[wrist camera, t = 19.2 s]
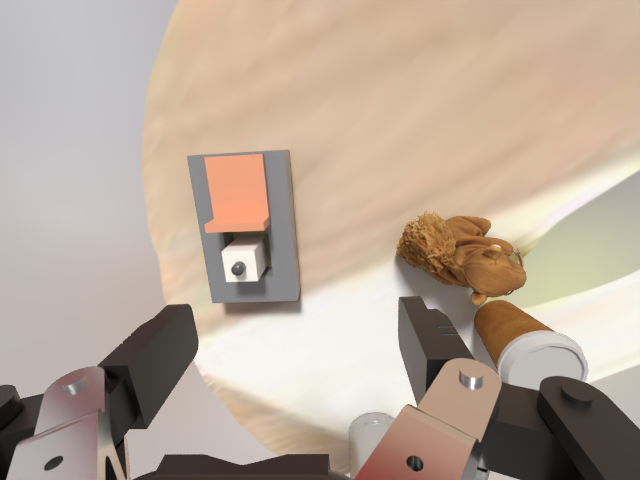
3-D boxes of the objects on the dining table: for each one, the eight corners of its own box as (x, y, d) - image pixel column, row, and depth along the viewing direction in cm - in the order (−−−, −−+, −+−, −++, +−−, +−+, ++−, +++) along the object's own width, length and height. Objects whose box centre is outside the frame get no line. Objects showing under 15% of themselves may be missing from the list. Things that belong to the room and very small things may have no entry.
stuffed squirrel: (471, 287, 45) (523, 341, 33) (378, 261, 45) (395, 306, 32) (501, 223, 42) (570, 256, 30) (402, 194, 42) (431, 216, 29)
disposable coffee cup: (537, 293, 45) (605, 344, 34) (518, 349, 48) (576, 413, 36) (471, 286, 45) (516, 334, 34) (456, 342, 48) (494, 404, 37)
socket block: (300, 288, 47) (297, 300, 43) (222, 290, 47) (212, 303, 44) (289, 149, 41) (284, 150, 37) (200, 154, 42) (186, 155, 38)
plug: (266, 234, 44) (251, 253, 36) (269, 260, 45) (255, 285, 37) (238, 235, 44) (217, 255, 36) (242, 261, 45) (222, 286, 37)
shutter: (270, 223, 39) (264, 230, 36) (216, 225, 40) (205, 232, 36) (263, 153, 37) (255, 154, 34) (206, 157, 37) (193, 158, 34)
